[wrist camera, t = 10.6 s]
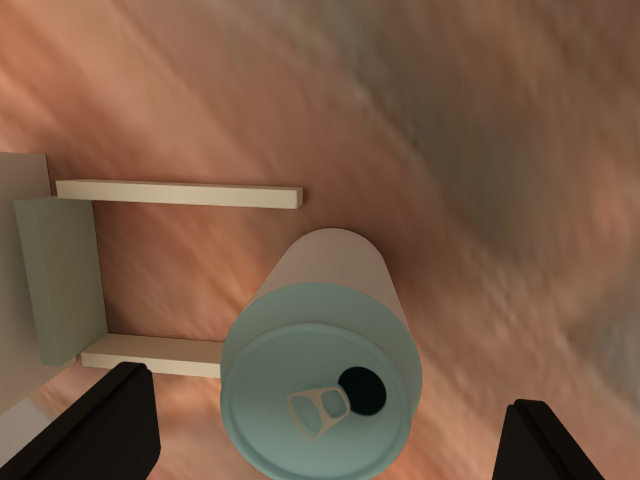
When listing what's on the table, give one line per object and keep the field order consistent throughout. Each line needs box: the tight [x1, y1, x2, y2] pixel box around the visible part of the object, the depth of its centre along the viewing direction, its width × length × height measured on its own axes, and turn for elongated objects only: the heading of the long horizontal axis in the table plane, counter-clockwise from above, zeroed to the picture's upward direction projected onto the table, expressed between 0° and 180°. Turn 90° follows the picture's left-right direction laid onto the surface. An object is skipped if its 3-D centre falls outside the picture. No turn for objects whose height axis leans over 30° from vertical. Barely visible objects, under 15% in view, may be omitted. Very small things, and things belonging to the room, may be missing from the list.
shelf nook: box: [0, 152, 303, 415], centre depth 14 cm, size 18×15×17 cm
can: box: [220, 228, 422, 480], centre depth 16 cm, size 7×7×12 cm
